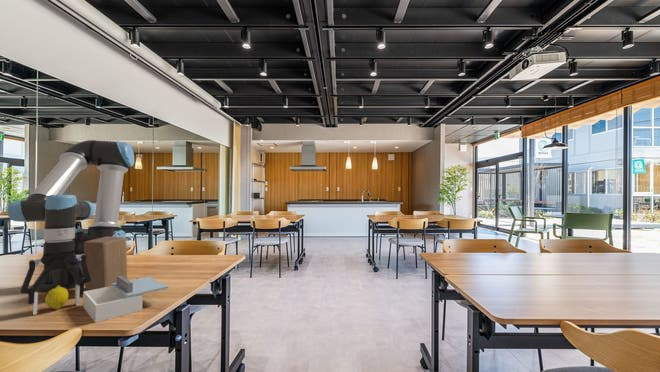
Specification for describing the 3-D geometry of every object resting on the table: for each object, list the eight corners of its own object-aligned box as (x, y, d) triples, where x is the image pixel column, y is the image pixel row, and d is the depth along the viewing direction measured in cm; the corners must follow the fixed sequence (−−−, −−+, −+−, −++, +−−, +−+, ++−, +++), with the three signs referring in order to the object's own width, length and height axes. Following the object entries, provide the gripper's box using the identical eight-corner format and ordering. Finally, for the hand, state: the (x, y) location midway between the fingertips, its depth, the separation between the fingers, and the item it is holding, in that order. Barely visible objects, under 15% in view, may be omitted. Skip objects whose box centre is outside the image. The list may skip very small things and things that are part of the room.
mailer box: (82, 306, 95) (83, 291, 95) (125, 296, 104) (125, 283, 104) (95, 322, 83) (96, 305, 83) (142, 310, 92) (142, 294, 92)
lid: (111, 285, 101) (112, 275, 101) (149, 278, 110) (149, 268, 110) (127, 297, 89) (127, 285, 89) (168, 288, 98) (168, 277, 98)
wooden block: (105, 294, 107) (103, 242, 106) (84, 291, 109) (82, 241, 108) (128, 284, 117) (127, 236, 116) (109, 282, 119) (107, 235, 118)
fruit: (55, 306, 95) (56, 282, 95) (72, 305, 96) (73, 282, 96) (39, 313, 90) (40, 287, 90) (58, 312, 90) (59, 287, 90)
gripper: (10, 246, 83) (6, 323, 82) (103, 238, 100) (101, 302, 99) (9, 243, 87) (5, 316, 86) (98, 236, 104) (96, 297, 103)
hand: (56, 308), depth 92 cm, fingers open, 9 cm apart
